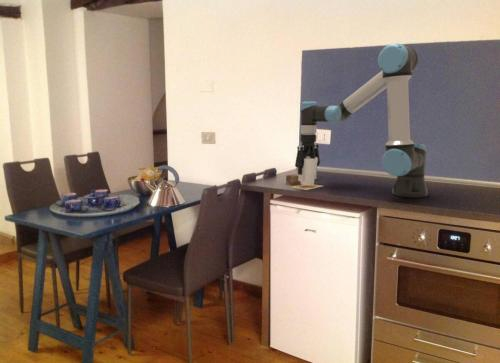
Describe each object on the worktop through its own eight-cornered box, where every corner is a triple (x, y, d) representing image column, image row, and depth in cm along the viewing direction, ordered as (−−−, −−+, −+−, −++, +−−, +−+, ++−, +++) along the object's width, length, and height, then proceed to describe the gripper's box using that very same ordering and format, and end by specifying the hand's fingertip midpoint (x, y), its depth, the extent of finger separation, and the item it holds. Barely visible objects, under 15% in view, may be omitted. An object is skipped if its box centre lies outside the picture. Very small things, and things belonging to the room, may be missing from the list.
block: (300, 185, 233) (300, 175, 232) (292, 186, 230) (292, 176, 229) (293, 183, 237) (293, 174, 236) (286, 184, 234) (286, 175, 233)
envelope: (324, 186, 229) (324, 185, 229) (306, 190, 219) (306, 189, 219) (307, 184, 236) (307, 183, 236) (290, 187, 226) (290, 187, 226)
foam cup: (316, 186, 221) (316, 159, 219) (296, 185, 223) (297, 158, 221) (317, 182, 231) (318, 156, 228) (298, 182, 232) (299, 156, 230)
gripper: (315, 132, 233) (314, 176, 237) (287, 134, 217) (287, 181, 221) (328, 133, 228) (327, 178, 232) (300, 135, 212) (299, 183, 216)
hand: (307, 179), depth 227 cm, fingers closed on foam cup, 9 cm apart
